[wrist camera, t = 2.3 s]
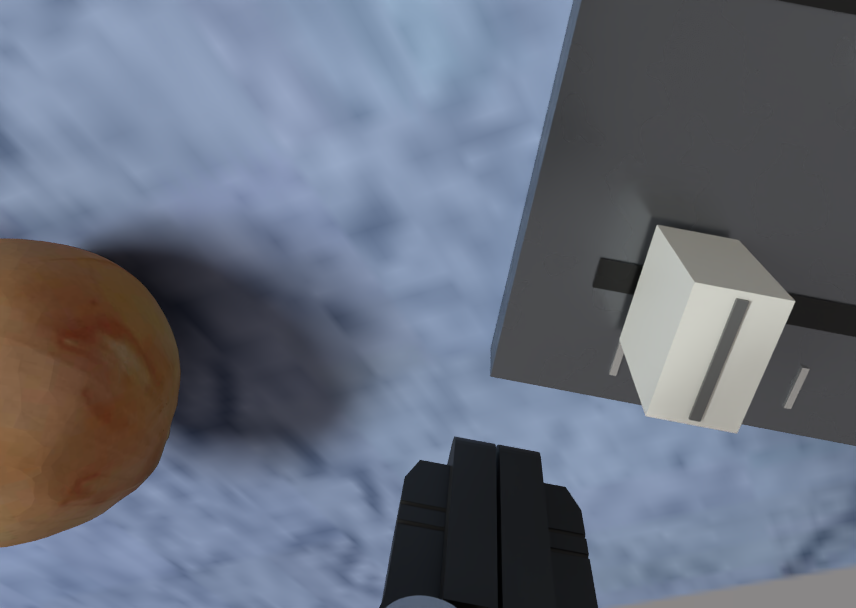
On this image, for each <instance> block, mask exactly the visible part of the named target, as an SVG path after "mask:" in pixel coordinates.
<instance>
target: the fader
mask: <svg viewBox="0 0 856 608" xmlns="http://www.w3.org/2000/svg"><path fill="white" fill-rule="evenodd" d="M794 303H795V300H794V299H793V298H792V297H791V296H790V295H789V294H788V293H787V292H786V291H785V289H784V288H783V287H782V286H781V285H780V284H779V283H778V282H777V281H776V280H775V279H774V278H773V276H772V275H771V274H770V273H769V272H768V271H767V270H766V269H765V268H764V267H763V266H762V265H761V263H760V262H759V261H758V260H757V259H756V258H755V257H754V256H753V255H752V254H751V253H750V252H749V251H748V249H747V248H746V247H745V246H744V245H743V244H742V243H741V242H740V241H739V240H736V239H731V238H726V237H720V236H715V235H710V234H704V233H699V232H694V231H688V230H683V229H678V228H673V227H667V226H662V225H657V226H656V229H655V232H654V235H653V238H652V241H651V244H650V247H649V250H648V253H647V256H646V260H645V263H644V266H643V269H642V272H641V275H640V278H639V281H638V284H637V287H636V290H635V293H634V296H633V299H632V302H631V305H630V308H629V311H628V314H627V318H626V321H625V324H624V327H623V330H622V333H621V336H620V339H619V340H620V343H621V346H622V349H623V352H624V355H625V358H626V360H627V363H628V366H629V369H630V372H631V375H632V378H633V381H634V384H635V387H636V390H637V392H638V395H639V398H640V401H641V404H642V407H643V410H644V413H645V416H648V417H653V418H658V419H663V420H669V421H674V422H679V423H684V424H690V425H695V426H700V427H705V428H711V429H716V430H721V431H726V432H732V433H738V431H739V428H740V426H741V424H742V421H743V419H744V417H745V415H746V412H747V410H748V408H749V406H750V403H751V401H752V399H753V397H754V394H755V392H756V390H757V387H758V385H759V383H760V381H761V378H762V376H763V374H764V372H765V369H766V367H767V365H768V362H769V360H770V358H771V356H772V353H773V351H774V349H775V347H776V344H777V342H778V340H779V338H780V335H781V333H782V331H783V328H784V326H785V324H786V322H787V319H788V317H789V315H790V313H791V310H792V308H793V306H794Z"/></svg>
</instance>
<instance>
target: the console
mask: <svg viewBox="0 0 856 608" xmlns="http://www.w3.org/2000/svg"><path fill="white" fill-rule="evenodd" d="M657 225H662V226H667V227H673V228H678V229H683V230H688V231H694V232H699V233H704V234H710V235H715V236H720V237H726V238H731V239H736V240H739V241H740V242H741V243H742V244H743V245H744V246H745V247H746V248H747V249H748V251H749V252H750V253H751V254H752V255H753V256H754V257H755V258H756V259H757V260H758V261H759V262H760V263H761V265H762V266H763V267H764V268H765V269H766V270H767V271H768V272H769V273H770V274H771V275H772V276H773V278H774V279H775V280H776V281H777V282H778V283H779V284H780V285H781V286H782V287H783V288H784V289H785V291H786V292H787V293H788V294H789V295H790V296H791V297H792V298H793V299H794V300H795V303H794V306H793V308H792V310H791V313H790V315H789V317H788V319H787V322H786V324H785V326H784V328H783V331H782V333H781V335H780V338H779V340H778V342H777V344H776V347H775V349H774V351H773V353H772V356H771V358H770V360H769V362H768V365H767V367H766V369H765V372H764V374H763V376H762V378H761V381H760V383H759V385H758V387H757V390H756V392H755V394H754V397H753V399H752V401H751V403H750V406H749V408H748V410H747V412H746V415H745V417H744V419H743V421H742V424H744V425H749V426H754V427H759V428H765V429H770V430H775V431H780V432H786V433H791V434H796V435H801V436H807V437H812V438H817V439H822V440H828V441H833V442H838V443H843V444H849V445H854V446H856V0H573V5H572V9H571V13H570V17H569V21H568V26H567V30H566V34H565V38H564V42H563V47H562V51H561V55H560V59H559V63H558V68H557V72H556V76H555V80H554V84H553V89H552V93H551V97H550V101H549V106H548V110H547V114H546V118H545V122H544V127H543V131H542V135H541V139H540V143H539V148H538V152H537V156H536V160H535V164H534V169H533V173H532V177H531V181H530V185H529V190H528V194H527V198H526V202H525V206H524V211H523V215H522V219H521V223H520V227H519V232H518V236H517V240H516V244H515V249H514V253H513V257H512V261H511V265H510V270H509V274H508V278H507V282H506V286H505V291H504V295H503V299H502V303H501V307H500V312H499V316H498V320H497V324H496V328H495V333H494V337H493V341H492V345H491V369H490V376H491V377H496V378H502V379H507V380H512V381H517V382H523V383H528V384H533V385H538V386H544V387H549V388H554V389H559V390H565V391H570V392H575V393H580V394H586V395H591V396H596V397H601V398H607V399H612V400H617V401H623V402H628V403H633V404H638V405H642V404H641V401H640V398H639V395H638V392H637V390H636V387H635V384H634V381H633V378H632V375H631V372H630V369H629V366H628V363H627V360H626V358H625V355H624V352H623V349H622V346H621V343H620V340H619V339H620V336H621V333H622V330H623V327H624V324H625V321H626V318H627V314H628V311H629V308H630V305H631V302H632V299H633V296H634V293H635V290H636V287H637V284H638V281H639V278H640V275H641V272H642V269H643V266H644V263H645V260H646V256H647V253H648V250H649V247H650V244H651V241H652V238H653V235H654V232H655V229H656V226H657Z"/></svg>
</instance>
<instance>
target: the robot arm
mask: <svg viewBox="0 0 856 608" xmlns="http://www.w3.org/2000/svg"><path fill="white" fill-rule="evenodd" d="M588 555H589V553H588V547H587V541H586V539H585V530H584V524H583V518H582V512H581V509H580V508H579V506H578V505H577V503H576V502H575V500H574V499H573V497H572V496H571V494H570V493H569V491H568V490H567V488H566V487H562V486H557V485H552V484H546V483H543V474H542V464H541V456H540V453H539V452H535V451H530V450H525V449H519V448H514V447H509V446H503V445H497V447H496V445H495V444H492V443H486V442H481V441H476V440H470V439H465V438H460V437H454V439H453V442H452V446H451V451H450V455H449V460H448V464H447V465H444V464H439V463H434V462H428V461H423V460H420V461H419V462H418V463H417V464H416V465H415V466H414V467H413V469H412V470H411V471H410V472H409V473H408V474H407V475H406V476H405V479H404V484H403V489H402V495H401V500H400V505H399V510H398V515H397V521H396V526H395V531H394V536H393V541H392V547H391V553H390V558H389V564H388V570H387V575H386V581H385V587H384V592H383V598H382V603H381V605H380V607H379V608H598V605H597V599H596V594H595V588H594V582H593V576H592V570H591V564H590V559H588Z"/></svg>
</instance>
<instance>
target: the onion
mask: <svg viewBox="0 0 856 608" xmlns="http://www.w3.org/2000/svg"><path fill="white" fill-rule="evenodd" d="M180 375H181V371H180V361H179V352H178V348H177V344H176V341H175V338H174V335H173V332H172V330H171V327H170V325H169V323H168V321H167V319H166V317H165V315H164V313H163V311H162V310H161V308H160V306H159V305H158V303H157V301H156V300H155V298H154V297H153V296H152V295H151V293H150V292H149V291H148V289H147V288H146V287H145V286H144V285H143V284H142V283H141V282H140V281H139V280H138V279H137V278H135V277H134V276H133V275H131V274H130V273H129V272H127V271H126V270H125V269H123V268H122V267H120V266H119V265H117V264H115V263H113V262H112V261H110V260H108V259H106V258H104V257H102V256H100V255H97V254H95V253H92V252H89V251H86V250H83V249H79V248H75V247H71V246H68V245H63V244H57V243H51V242H45V241H35V240H26V239H0V547H8V546H13V545H18V544H23V543H27V542H32V541H36V540H39V539H42V538H46V537H49V536H51V535H54V534H57V533H59V532H62V531H65V530H67V529H70V528H73V527H76V526H78V525H81V524H83V523H85V522H87V521H90V520H92V519H93V518H95V517H97V516H99V515H101V514H102V513H104V512H105V511H107V510H108V509H109V508H111V507H112V506H113V505H114V504H116V503H117V502H118V501H120V500H121V499H123V498H124V497H126V496H127V495H129V494H130V493H132V492H133V491H135V490H136V489H137V488H138V487H139V486H140V485H141V484H142V483H143V482H144V481H145V480H146V479H147V478H148V477H149V476H150V475H151V473H152V472H153V471H154V470H155V468H156V467H157V465H158V463H159V461H160V458H161V456H162V453H163V450H164V446H165V443H166V441H167V439H168V437H169V433H170V427H171V423H172V419H173V416H174V413H175V410H176V407H177V402H178V393H179V387H180Z"/></svg>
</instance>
